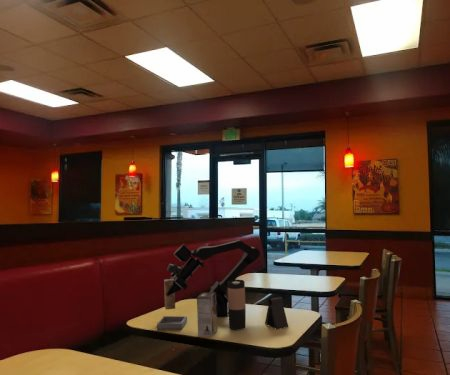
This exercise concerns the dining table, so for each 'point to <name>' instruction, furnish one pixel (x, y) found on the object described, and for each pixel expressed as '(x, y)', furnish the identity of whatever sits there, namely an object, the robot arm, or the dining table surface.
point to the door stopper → (276, 313)
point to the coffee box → (207, 314)
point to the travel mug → (236, 304)
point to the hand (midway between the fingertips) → (166, 293)
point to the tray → (172, 323)
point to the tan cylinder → (171, 298)
